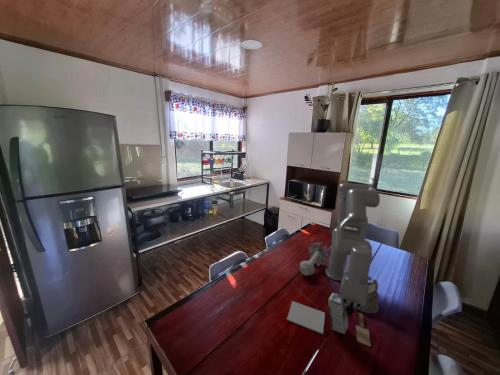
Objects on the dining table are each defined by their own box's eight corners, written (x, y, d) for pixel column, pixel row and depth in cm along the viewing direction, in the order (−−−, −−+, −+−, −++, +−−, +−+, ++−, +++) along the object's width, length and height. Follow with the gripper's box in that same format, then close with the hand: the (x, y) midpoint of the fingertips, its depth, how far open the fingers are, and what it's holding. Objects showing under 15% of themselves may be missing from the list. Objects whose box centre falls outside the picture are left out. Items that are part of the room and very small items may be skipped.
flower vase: (310, 287, 126) (327, 262, 142) (316, 268, 116) (333, 243, 132) (292, 274, 133) (310, 252, 149) (296, 255, 123) (315, 234, 139)
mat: (292, 302, 105) (292, 301, 105) (324, 313, 99) (325, 312, 99) (286, 320, 94) (286, 319, 94) (322, 334, 88) (323, 333, 88)
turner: (354, 313, 100) (355, 311, 100) (366, 317, 98) (366, 315, 98) (357, 342, 86) (357, 339, 85) (370, 347, 84) (371, 345, 84)
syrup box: (335, 321, 95) (331, 292, 94) (349, 326, 91) (344, 295, 90) (331, 330, 90) (327, 299, 90) (345, 335, 87) (341, 302, 86)
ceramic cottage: (377, 296, 112) (381, 272, 108) (379, 319, 98) (383, 293, 94) (346, 287, 119) (349, 264, 116) (343, 307, 106) (346, 282, 102)
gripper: (376, 276, 84) (367, 312, 88) (337, 265, 90) (330, 300, 94) (379, 287, 77) (369, 326, 82) (336, 275, 83) (330, 313, 87)
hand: (349, 312), depth 88 cm, fingers closed
